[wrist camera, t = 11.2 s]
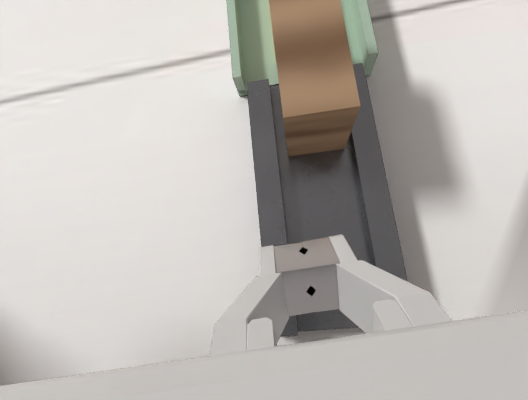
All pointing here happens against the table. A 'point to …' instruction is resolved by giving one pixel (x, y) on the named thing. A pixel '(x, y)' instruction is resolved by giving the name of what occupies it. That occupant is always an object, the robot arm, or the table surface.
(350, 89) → the brown wooden block
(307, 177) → the slot bed
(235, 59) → the tray
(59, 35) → the table surface
